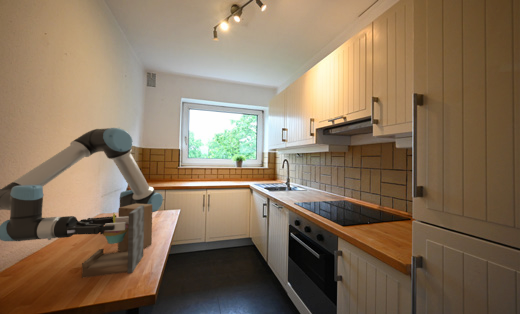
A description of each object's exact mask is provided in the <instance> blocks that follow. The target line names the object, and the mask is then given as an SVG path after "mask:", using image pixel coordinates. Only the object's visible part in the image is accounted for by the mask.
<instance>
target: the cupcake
mask: <svg viewBox="0 0 520 314" xmlns="http://www.w3.org/2000/svg"><path fill="white" fill-rule="evenodd" d="M115 215H116V213H113V214H112V216H113V223H115ZM128 230H129V229H128V226H127V225H126V229H125V230H119V231H104V234H102V236H103V237H105V239H106V241H107V244H109V245H115V244H118V243H119V242H122V241H123V238H124V236H125V234H126V232H127V231H128Z"/></svg>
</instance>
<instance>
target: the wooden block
mask: <svg viewBox="0 0 520 314" xmlns="http://www.w3.org/2000/svg"><path fill="white" fill-rule="evenodd" d="M140 205H144V245H143V250H144V249H147V247H149V246H152V244H153V243H152V242H153V241H152V240H153V239H152V238H153V237H152V234H153V212H152V204H132V205H128V206H124V207H120V206H119V208H118V217H129V213H130V212H132V211H133V210H135V209H136V208H138V207H139V206H140ZM126 225H127V226H128V229H129V224H126ZM117 251H118V252H126V251H128V231H127V232H126V234H125V236H124V238H123V241H122V242H119V243H117Z"/></svg>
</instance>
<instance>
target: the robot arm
mask: <svg viewBox="0 0 520 314" xmlns="http://www.w3.org/2000/svg"><path fill="white" fill-rule="evenodd" d="M132 147H133V137H132V136H131V134H130V133H129V132H128V131H127V130H125V129H123V128H121V127H110V128H109V127H108V128H96V129H92V130H90V131H88V132H85V133H83V134H82V135H80V136H78V137H77V138H76V139H74V140H72V141H71V142H70V143H69V146H67V147H66V148H64V149H63V150H61V151H59V152H57V153H56V154H55V155H53V156H52V157H49V158H48V159H47V160H45V161H43V162H42V163H40V164H39V165H37V166H36V167H34V168H33V169H30V170H29V171H27V172H26V173H25V174H23V175H22V176H20V177H18V178H17V179H15V180H14V181H12V182H10V183H9V184H7V185H5V186H4V187H1V188H2V189H0V210H5V211H9V212H10V213H9V214H10V215H9V219H7V220H5V221H3V222H2V223H0V241H2V242H24V241H35V240H46V239H47V241H51V240H52V239H56V238H57V239H64V238H70V237H72V236H75V235H76V236H77V235H103V234H104V231H119V230H125V229H126V224H129V217H119V216H117V214H115V223H113V215H112V216H101V217H88V218H84V219H80V220H78V219H77V217H76V216H73V215H72V216H71V215H69V216H67V215H66V216H50V217H49V216H48V217H47V216H45V217H43V206H44V205H43V204H44V203H43V202H44V196H45V195H44V187H45V186H46V185H47V184H49V183H50V182H51V181H53V180H54V179H56V178H57V177H59V175H61V174H63V173H64V172H65V171H67V170H68V169H70V168H71V167H72V166H74V165H75V164H77V163H78V162H80V161H81V160H82V159H84V158H89V157H91V155H93V154H96V153H99V152H104V155H105V156H106V157H107V159H109V160H113V162H114V164H115V166H116V167H117V169H118V170H119V172H120V174H121V175H122V177H123V179H124V180H125V182H126V183H127V185H128V187H129V188H130V189H129V190H124V191H121V192H120V195H119V208H120V207H124V206H128V205H132V204H152V213H156V212H158V211H159V209H160V208H161V207H162V205H163V202H164V199H163V198H164V197H163V195H162V194H161V193H160V192H156V190H155V188H154V187H153V186H150V185H149V183H148V182H147V180H146V178H145V176H144V174H143V172H142V171H141V169H140V167H139V165H138V163H137V162H136V160H135V158H134V156H133V154H132V152H133V151H132V150H133V148H132Z"/></svg>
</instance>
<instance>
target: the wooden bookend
mask: <svg viewBox="0 0 520 314" xmlns="http://www.w3.org/2000/svg"><path fill="white" fill-rule="evenodd" d="M143 245H144V205H140V206H139V207H138V208H136V209H135V210H133V211H132V212H130V213H129V230H128V251H126V252H122V251H118V252H117V251H116V252H109V253H104V252H105V251H104V248H100V249H99V248H98V250H97V251H95V252H94V253H93V254H92V255H91V256H90V257H88V258H87V259H85V261H84V262H82V263H81V264H82V265H81V278H82V279H84V278H86V279H87V278H92V277H93V278H94V277H99V276H109V275H117V274H124V273H125V274H126V273H127V274H132V273H133V272H134V271H135V270H136V268H137V266H138V264H139V263H140V262H141V260H142V259H143V257H144V249H143Z"/></svg>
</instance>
